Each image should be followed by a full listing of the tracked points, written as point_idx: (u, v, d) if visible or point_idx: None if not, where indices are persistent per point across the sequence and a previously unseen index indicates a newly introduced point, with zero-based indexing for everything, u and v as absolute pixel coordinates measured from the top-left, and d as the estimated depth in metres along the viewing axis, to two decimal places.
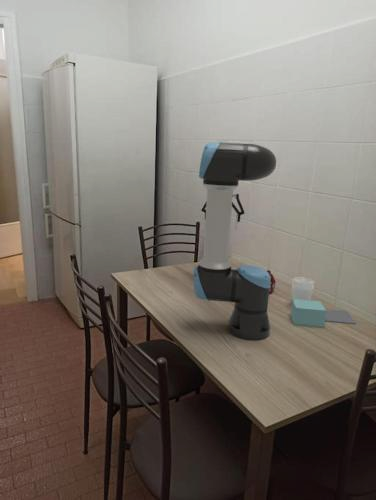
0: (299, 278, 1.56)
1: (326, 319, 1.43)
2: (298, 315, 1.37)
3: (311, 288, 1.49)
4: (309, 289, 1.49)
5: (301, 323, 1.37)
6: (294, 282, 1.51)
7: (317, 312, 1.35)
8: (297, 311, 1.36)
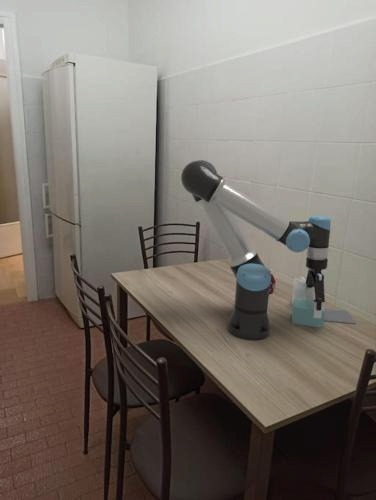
0: (301, 278, 1.57)
1: (326, 319, 1.43)
2: (296, 314, 1.37)
3: None
4: None
5: (299, 322, 1.38)
6: (296, 281, 1.51)
7: None
8: (295, 310, 1.37)
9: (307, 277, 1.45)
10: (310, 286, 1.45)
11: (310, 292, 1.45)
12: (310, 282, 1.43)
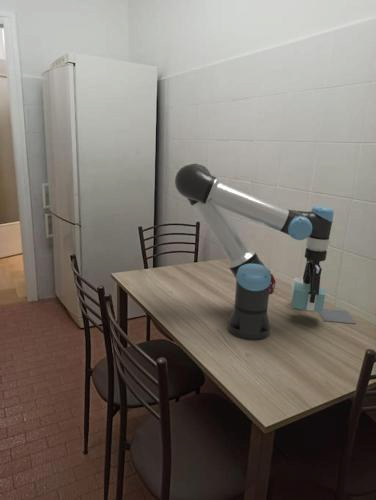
0: (299, 278, 1.56)
1: (326, 319, 1.43)
2: (295, 298, 1.36)
3: None
4: None
5: (299, 306, 1.36)
6: (294, 282, 1.51)
7: (316, 296, 1.34)
8: (295, 293, 1.36)
9: (304, 272, 1.44)
10: (307, 282, 1.44)
11: None
12: (307, 276, 1.41)
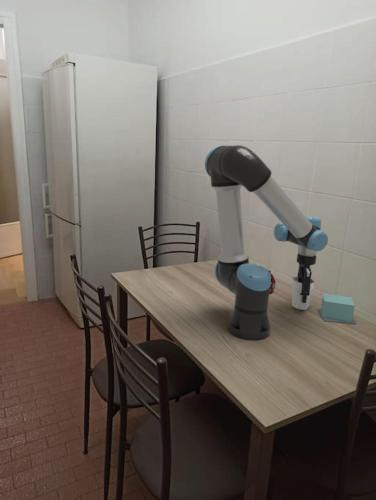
0: None
1: (326, 319, 1.43)
2: (326, 308, 1.43)
3: (311, 288, 1.49)
4: None
5: (329, 316, 1.43)
6: (294, 282, 1.51)
7: (345, 306, 1.40)
8: (325, 304, 1.43)
9: (297, 275, 1.58)
10: None
11: None
12: (300, 279, 1.56)
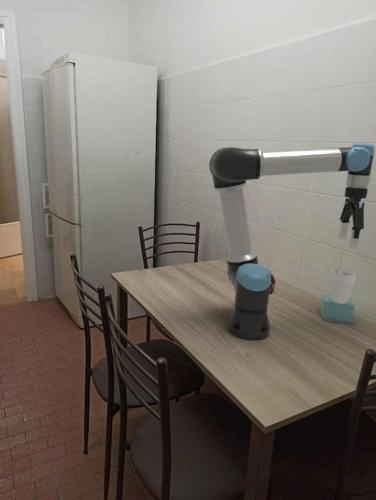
0: (338, 270, 1.45)
1: (326, 319, 1.43)
2: (326, 308, 1.43)
3: (353, 280, 1.38)
4: (351, 281, 1.37)
5: (329, 316, 1.43)
6: (334, 274, 1.40)
7: (345, 306, 1.40)
8: (325, 304, 1.43)
9: (342, 212, 1.44)
10: (345, 221, 1.44)
11: (344, 227, 1.44)
12: (346, 216, 1.42)
